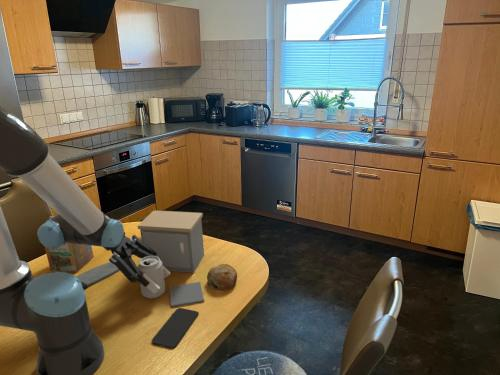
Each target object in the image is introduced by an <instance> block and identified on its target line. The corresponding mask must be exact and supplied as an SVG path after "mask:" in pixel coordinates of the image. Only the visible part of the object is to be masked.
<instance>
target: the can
mask: <svg viewBox="0 0 500 375" xmlns="http://www.w3.org/2000/svg"><path fill="white" fill-rule="evenodd" d="M137 267H138V269H139V270H140V272H141V273H142V275H143V274H146V275H147V276H148V277H149V278H150V279H151V280H152V281H153V282H155V283H156V284H157V285H158V286H159V287H160V289H159V290H158V291H157V292H156V293H153V292H152V291H150V290H149V289H148V288H147V287H144V286H143V285H142V284H141V283H140V282H139V285H140V291H141V296H143V297H145V298H147V299H157V298H160V297H161V296H162V295H163V294H164V293H165V292H166V283H165V282H166V281H165V278H164V273H163V266H162V261H161V260H160V259H159V257H157V256H147V257H144V258H142V259H141V258H140V259H139V261H138V264H137Z"/></svg>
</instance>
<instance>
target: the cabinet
mask: <svg viewBox="0 0 500 375" xmlns="http://www.w3.org/2000/svg"><path fill="white" fill-rule="evenodd" d="M203 214H204V213H203V212H190V211H170V210H168V211H167V210H152V211H151V212H150V213H149V214H148V215H147V216H146V217H145V218H144V219H143V220H142V221H141V222H140V223H139V224H138V225H137V230H139V232H140V238H141V239H142V242H143V243H144V244H146V245H147V246H148V247H150V248H151V249H152V250H154V251H155V252H156V253H157V256H158V257H159V259H160V260H161V261H162V265H163V266H164V267H165V268H166V269H167V270H168V271H169V272H181V273H193V274H194V273H195V271H196V270H197V268H198V267H199V266H200V263H201V261H202V260H203V258H204V256H205V248H204V236H203V225H202V222H203V221H202V218H203Z"/></svg>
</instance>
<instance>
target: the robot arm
mask: <svg viewBox="0 0 500 375" xmlns="http://www.w3.org/2000/svg"><path fill="white" fill-rule="evenodd" d="M0 169H1V170H2V171H3V172H5V174H7V175H8V176H10V177H15V178H16V177H18V178H19V179H20V180H21V181H22V182H23V183H24V184H26V186H28V188H30V189H31V190H32V191H33V192H34V193H35V194H36V195H37V196H39V197H40V198H41V199H42V200H43V201H44V202H45V203H46V204H47V205H48V206H49V207H51V209H53V210H54V211H55V213H57V214H56V215H55V216H54V217H53V218H51V219H47V220H46V221H45V222H44V223H43V224H41V226H39V227H38V229H37V237H38V241H39V242H40V244H42V246H44V248H45V247H47V248H50V249H56V248H58V247H60V246H62V245H63V244H64V243H73V244H84V245H91V246H95V247H102V248H103V249H105V250H106V251H107V252H109V251H110V252H111V253H112V256H110V258H108V261H109V262H111V263H113V264H114V265H115V266H116V267H117V268H118V269H119V272H120V273H122V275H123V276H124V277H125V278H126V279H127V280H128V282H130V283H136V282H139V284H140V283H141V284H142V285H143V286H144V287H147V288H148V289H149V290H150V291H152V292H153V293H156V292H157V291H158V290H159V289H160V287H159V286H158V285H157V284H156V283H155V282H153V281H152V280H151V279H150V278H149V277H148V276H147V275H146V274H143V275H142V273H141V272H140V270H139V269H138V265H137V264H136V263H135V261H134V260H133V258H132V256H134V257H135V256H136V257H138V258H139V259H140V260H141V259H142V258H144V257H147V256H157V253H156V252H155V251H154V250H152V249H151V248H150V247H148V246H147V245H146V244H144V243H143V242H142V241H140V240H139V239H138V238H137V237H138V236H137V235H135V234H133V235H132V236H131V237H128V236H126V232H125V228H124V224H123V223H122V222H121V221H120V220H118V219H114V218H110V217H109V216H108V215H107V214H105V213H104V212H103V211H101V209H99V207H98V206H96V204H95V203H94V202H93V201H92V200H91V199H90V197H89V196H87V195H86V193H85V192H84V191H83V189H81V188H80V186H79V185H78V184H77V183H76V182H75V180H73V179H72V178H71V177H70V175H69V174H68V173H67V172H66V171H65V170H64V168H63V167H61V165H60V164H59V163H58V162H57V160H55V159H54V158H53V157H52V156H51V154H50V147H49V145H48V144H47V142H46V141H45V140H44V139H43V137H41V136H40V135H39V134H38V132H37V131H36V130H35V129H33V128H32V127H31V126H30V125H29V124H28V123H26V122H25V121H24V120H23V119H22V118H20V117H19V116H17V115H16V114H15V113H14V112H12V111H11V110H9V109H7V108H6V107H4V106H2V105H0ZM17 252H18V251H17V250H16V247H15V244H14V240H13V238H12V234H11V233H10V229H9V226H8V223H7V220H6V218H5V214H4V212H3V209H2V206H1V205H0V327H3V328H4V327H5V328H12V329H15V330H21V331H23V330H24V331H28V332H33V333H34V334H35V337H36V339H37V344H38V353H37V354H38V355H37V360H36V374H37V375H93V374H94V373H95V372H96V371H97V370H98V369H99V368H100V366H101V365H102V363H103V361H104V358H105V349H104V344H103V342H102V340H101V339H100V337H99V336H98V335H97V333H96V332H95V331H94V328H92V325H91V319H90V314H89V309H88V304H87V298H86V293H85V290H84V289H83V288H82V284H81V282H80V280H79V279H78V278H77V277H76V276H77V275H75V274H72V273H71V272H60V271H52V273H49V272H47V273H43V274H41V275H38V276H36V277H34V276H33V273H32V270H31V267H30V264H29V263H27V261H24V260H20V257H19V256H18V253H17ZM157 257H158V256H157ZM162 266H163V265H162ZM163 273H164V279H166V278H167V277H168V276H170V275H171V271H168V270H167V269H166V268H165V267H164V266H163Z"/></svg>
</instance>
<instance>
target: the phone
mask: <svg viewBox="0 0 500 375" xmlns="http://www.w3.org/2000/svg"><path fill="white" fill-rule="evenodd" d="M199 314H200V312H198V310H197V311H196V310H193V309H187V308H184V307H179V308H176V309H175V311H174V312H173V313H172V314H171V315H170V317H168V319H167V320H166V322H165V323H164V324H163V325H162V327H160V329H159V330H158V331H157V333H156V334H154V336H153V337H152V339H151V344H153V345H154V346H160V347H163V348H165V349H166V348H167V349H175V348H176V347H177V346H178V345H179V344H180V342H181V341H182V340H183V339H184V338H185V336H186V334H187V332H189V329H190V328H191V326H192V325H194V324H193V323H195V320H197V318H199Z"/></svg>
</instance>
